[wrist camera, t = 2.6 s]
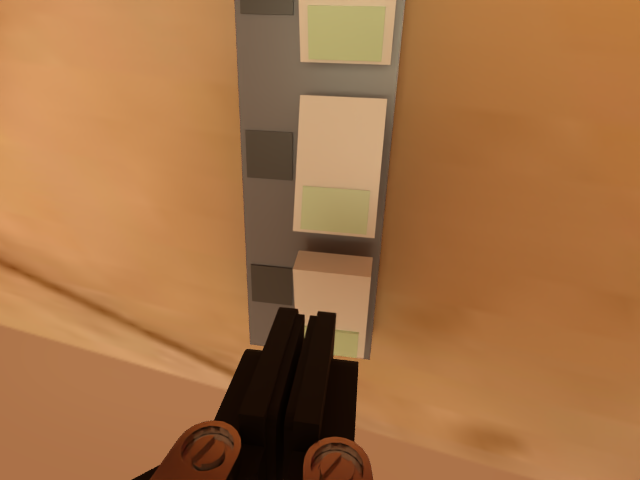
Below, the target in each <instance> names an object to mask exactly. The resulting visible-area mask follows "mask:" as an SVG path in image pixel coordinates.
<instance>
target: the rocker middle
mask: <svg viewBox="0 0 640 480" xmlns="http://www.w3.org/2000/svg"><path fill="white" fill-rule="evenodd" d="M386 107H387V99H379V98H357V97H335V96H313V95H300V107H299V125H298V144H297V162H296V181H295V200H294V218H293V231H299V232H310V233H321V234H332V235H344V236H355V237H366V238H375V228H376V217H377V206H378V195H379V184H380V173H381V162H382V151H383V140H384V129H385V118H386Z"/></svg>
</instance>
